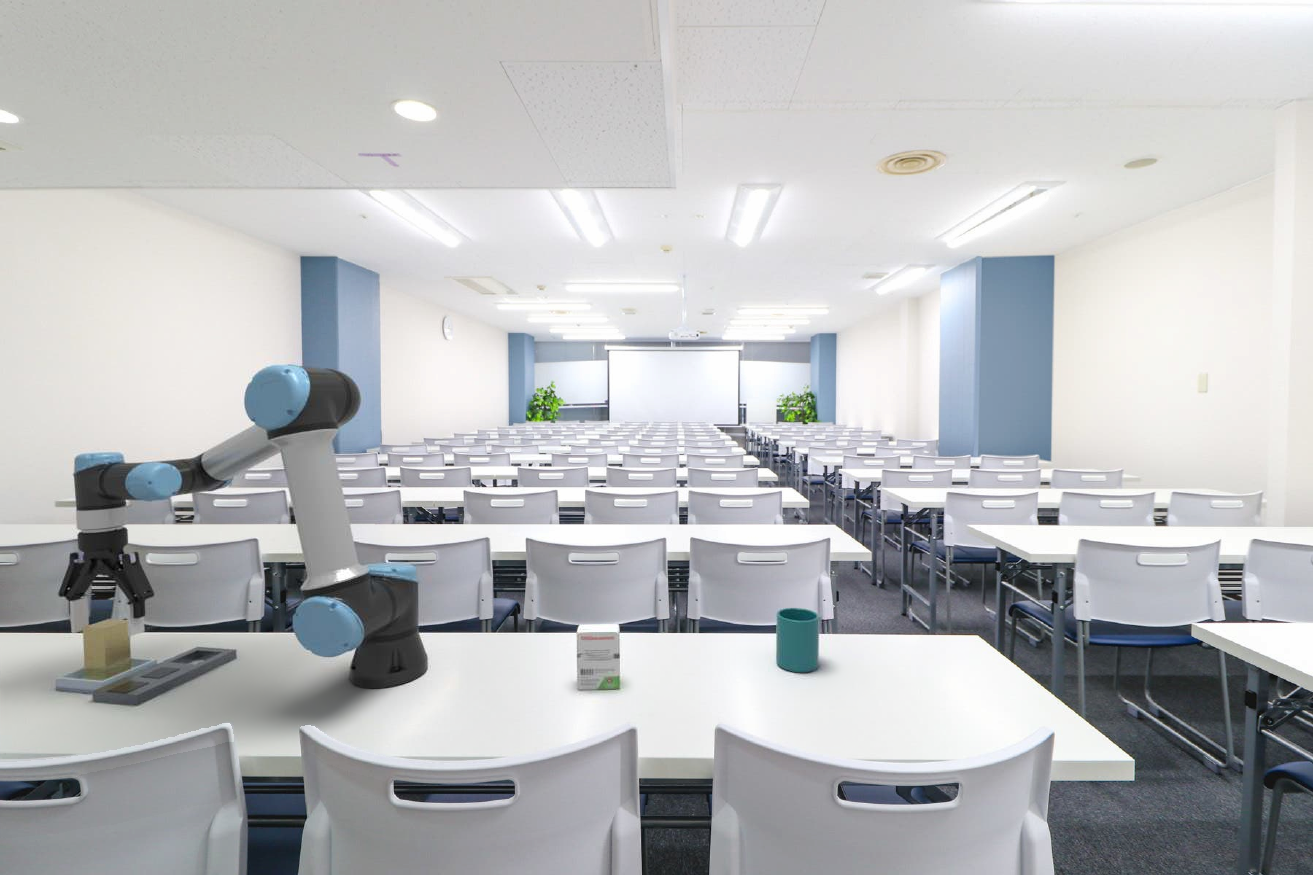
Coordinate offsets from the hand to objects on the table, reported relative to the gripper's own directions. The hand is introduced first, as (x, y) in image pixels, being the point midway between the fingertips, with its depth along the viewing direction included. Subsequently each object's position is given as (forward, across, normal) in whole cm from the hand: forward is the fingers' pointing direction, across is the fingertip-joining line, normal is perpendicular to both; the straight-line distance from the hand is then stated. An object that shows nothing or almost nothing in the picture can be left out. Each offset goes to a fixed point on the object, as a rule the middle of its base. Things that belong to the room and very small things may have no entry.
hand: (108, 632), depth 124 cm
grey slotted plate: (+10, -11, -3) cm, 15 cm away
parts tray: (+10, 0, 0) cm, 10 cm away
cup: (+12, -139, -33) cm, 143 cm away
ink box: (+12, -99, -15) cm, 101 cm away
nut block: (+9, 0, 0) cm, 9 cm away
